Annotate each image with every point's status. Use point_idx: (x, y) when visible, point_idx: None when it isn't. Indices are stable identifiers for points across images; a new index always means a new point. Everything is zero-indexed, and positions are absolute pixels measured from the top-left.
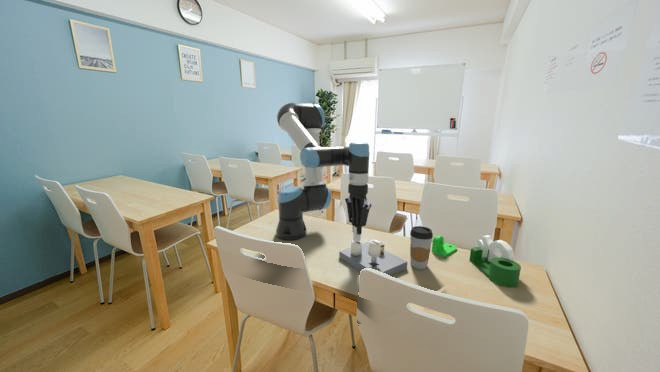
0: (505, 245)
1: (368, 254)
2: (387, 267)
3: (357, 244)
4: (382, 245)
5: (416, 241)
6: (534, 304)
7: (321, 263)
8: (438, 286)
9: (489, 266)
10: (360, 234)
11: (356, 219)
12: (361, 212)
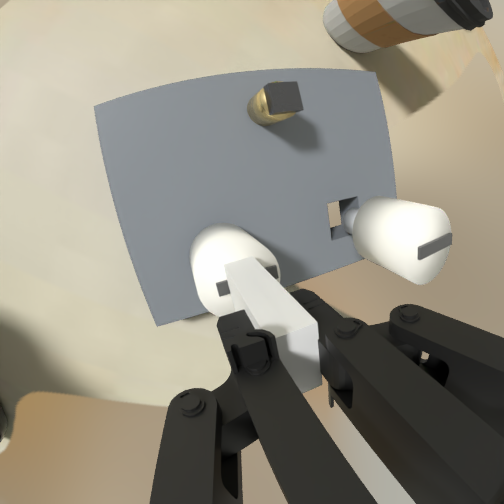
0: None
1: (367, 259)
2: (384, 179)
3: None
4: (300, 100)
5: (452, 30)
6: (477, 33)
7: (185, 382)
8: (438, 95)
9: None
10: (273, 279)
11: (376, 443)
12: (487, 457)
